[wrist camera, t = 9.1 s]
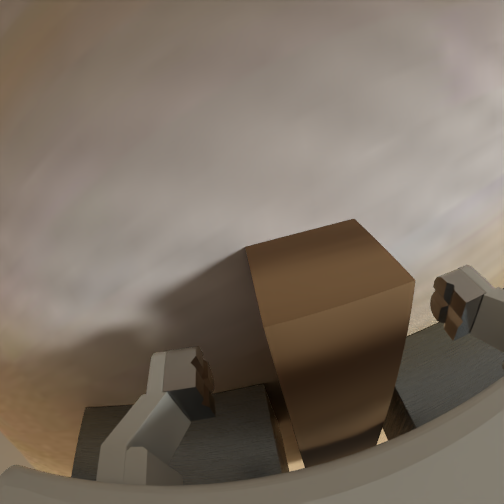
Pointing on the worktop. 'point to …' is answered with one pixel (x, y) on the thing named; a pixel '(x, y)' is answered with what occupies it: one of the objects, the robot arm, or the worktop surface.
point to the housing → (267, 427)
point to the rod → (333, 333)
